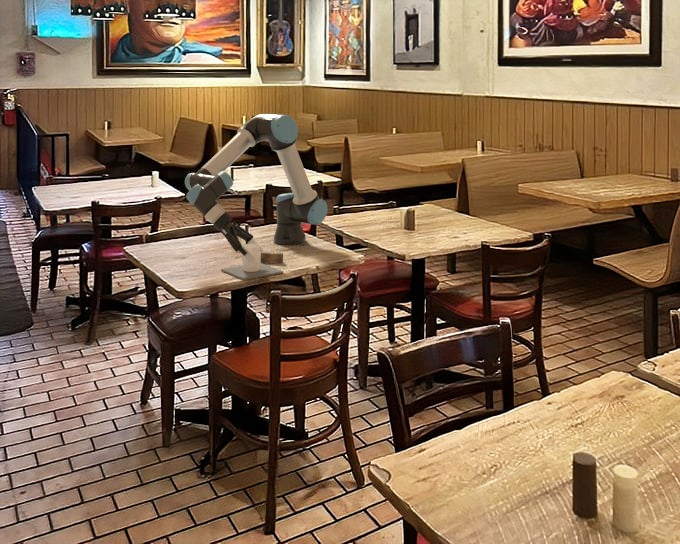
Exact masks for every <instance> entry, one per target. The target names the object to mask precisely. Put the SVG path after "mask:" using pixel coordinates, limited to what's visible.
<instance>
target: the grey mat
mask: <svg viewBox="0 0 680 544" xmlns="http://www.w3.org/2000/svg"><path fill="white" fill-rule="evenodd" d="M223 271H224V272H223ZM221 272H223V273H225V272H226V273H225V274H227V273H228V274H227V275H230V276H232V277H235V278H237V279H239V280H242V281H246V280H252V279H253V280H254V279H258V278H264V277H269V276H274V275H280V274H283V273H284V270H281V269H277V268H276V267H272V266H270V265H267V264H264V263H263V262H260V270H259V271H256V272H246V271H244V270H243V264H242V265H236V266H232V267H224V268H221Z"/></svg>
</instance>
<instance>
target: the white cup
mask: <svg viewBox="0 0 680 544" xmlns="http://www.w3.org/2000/svg"><path fill="white" fill-rule="evenodd" d="M241 245H242V246H244V247H245V248H246V249H247V250H248V251H249V252H250V253H251V254H252V255H253V256H254V257H255V258H254V259H253V260H252V261H251V262H249V261H248V260H247V259H246V258H245V257H244V256H243V255H242V254H241V259H242V260H241V263H242V265H243V270H244V271H246V272H256V271H259V270H260V263H262V262H261V248H262V245H261V244H259V243H258V244H248V243H244V244H241Z"/></svg>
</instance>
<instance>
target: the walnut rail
mask: <svg viewBox="0 0 680 544" xmlns="http://www.w3.org/2000/svg"><path fill="white" fill-rule="evenodd" d="M266 262H270V263H271V264H279V265H281V264H283V263H284V253H282V252H268V251H262V252H261V262H260V263H266ZM270 263H269V264H270Z"/></svg>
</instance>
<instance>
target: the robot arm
mask: <svg viewBox="0 0 680 544" xmlns="http://www.w3.org/2000/svg"><path fill="white" fill-rule="evenodd" d="M298 136H299V126H298V124H297V122H296V120H295V118H293V117H292V116H290V115H286V114H283V113H278V114H277V113H276V114H273V113H260V114H258V115H255V116H254V117H251V118H250V119H249V120H247V121H246V122H245V123H244V124H243V125H242V126H240V127H239V128H238V129H237V131H236V134H235V135H234V136H233V137H232V138H231V139H230V140H229V141H228V142H227V143H226V144H225V145H223V147H222V148H221V149H220V150H219V151H217V152H216V153H215V154H214V156H212V157H211V159H209V160H208V161H207V162H206V163H205V164H204V165H203V166H202V167H200V169H198V171H197V172H191V173H190V172H189V173H188V174H187V175H186V177H185V178H184V185H185V188H186V189H187V190H188V192H187V193H186V195H185V198H186V199H187V201H188V202H189V203H190V204H191V205H192V206H193V207H194V208H195V209H196V210H197V211H198V212H200V214H201V215H202V216H203V217H204V218H205V219H206V221H208V222H209V223H210V224H213V225H212V226H213V227H214V228H215V229H216V230H217V231H218V232H221V234H222V235H223V236H224V238H225V239H226V241H227V242H228V243H229V245H230V246H231V248H232V249H233V250H234V252H236V253H237V252H239V253H240V255H241V256H242V255H243V256H244V257H245V258H246V259H247V260H248V261H249V262H251V261H252V260H253V259H254V258H255V257H254V256H253V255H252V254H251V253H250V252H249V251H248V250H247V249H246V248H245V247H244V246H242V245H243V244H242V243H241V241H240V240H239V238H240V239H242V240H243V241H245V242H247V244H259V243H257V241H255V239H254V235H253V234H252V233H250V232H249V231H247V230H246V229H245V228H243V227H242V226H241V225H240V224H238V223H237V222H236V221H233V222H231V221H232V220H233V217H232V216H231V215H230V214H229V213H228V212H226V210H225V208H223V206H222V205H220V203H218V202H217V200H218V199H219V198H220V197H222V196H223V195H224V194H225V193H227V192H228V191H229V190H230V189H231V188H232V187H233V185H234V181H233V178H232V177H231V176H230V174H229V173H227V172H226V170H227V169H228V168H230V166H231V165H232V164H234V162H236V160H238V158H239V157H241V156H242V155H243V154H244V153H245V152H246V151H247V150H248V149H249V148H250V147H251V148H253V147H255V145H257V144H258V143H260V142H268V143H269V146H270V149H271V151H274V152H275V153H276V155H277V156H278V159H279V162H280V164H281V166H282V168H283V171H284V174H285V177H286V179H287V181H288V184H289V186H290V189H291V192H288V193H281V194H278V195H277V196H276V203H275V205H276V206H275V207H276V228H275V232H274V236H273V243H275V244H276V245H286V246H290V245H301V244H304V243H306V242H307V239H306V238H307V237H306V234H305V231H304V228H303V224H309V225H319V224H321V223H323V221H325V219H326V217H327V214H328V205H327V202H326V201H325V200H324V199H322V198H321V199H320V198H319V195H318V193H317V191H316V190H315V189H313V188H312V185H311V183H310V180H309V178H308V175H307V173H306V169H305V168H304V165H303V162H302V160H301V157H300V154H299V151H298V149H297V147H296V143H297V137H298ZM261 252H264V248H263V247H261Z"/></svg>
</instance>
